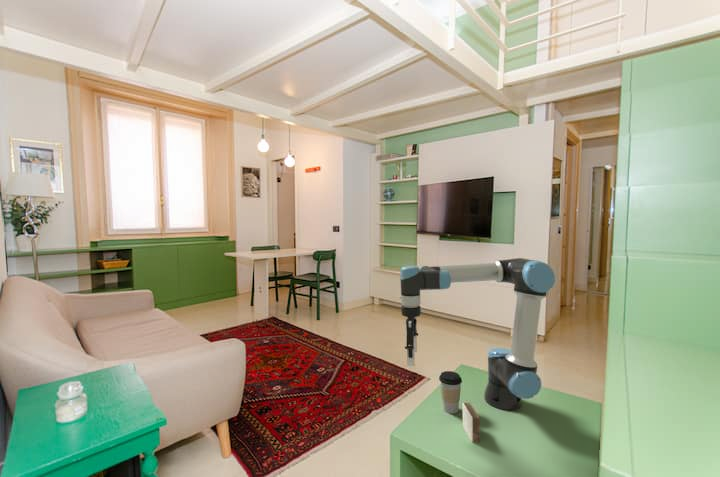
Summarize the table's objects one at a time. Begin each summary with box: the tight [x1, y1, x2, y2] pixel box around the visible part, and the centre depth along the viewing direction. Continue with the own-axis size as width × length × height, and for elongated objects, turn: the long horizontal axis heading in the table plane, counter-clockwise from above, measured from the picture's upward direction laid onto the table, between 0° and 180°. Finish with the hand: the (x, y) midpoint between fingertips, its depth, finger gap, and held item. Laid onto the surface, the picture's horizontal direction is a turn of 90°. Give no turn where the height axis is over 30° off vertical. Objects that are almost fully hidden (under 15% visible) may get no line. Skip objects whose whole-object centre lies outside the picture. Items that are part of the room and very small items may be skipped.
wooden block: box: [461, 402, 481, 443], centre depth 120 cm, size 3×10×9 cm, turn 0°
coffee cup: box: [438, 370, 463, 415], centre depth 136 cm, size 9×9×15 cm
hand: (412, 358), depth 127 cm, fingers open, 13 cm apart
